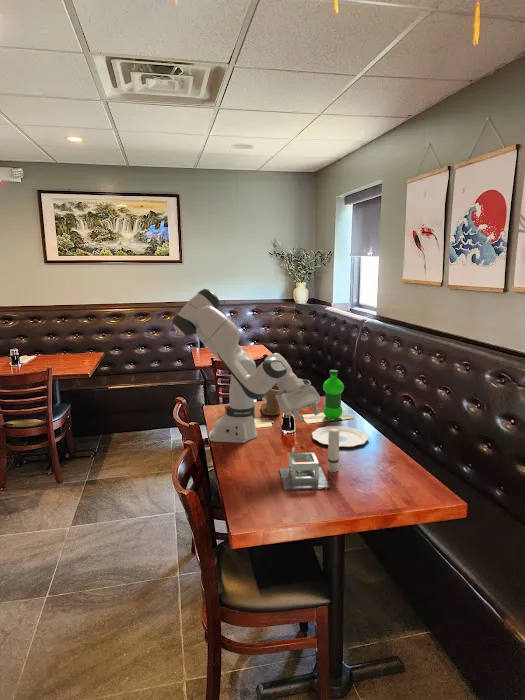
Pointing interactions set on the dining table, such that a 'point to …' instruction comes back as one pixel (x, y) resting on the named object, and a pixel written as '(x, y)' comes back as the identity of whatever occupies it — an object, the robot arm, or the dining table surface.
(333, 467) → the cream tall rounded cylinder
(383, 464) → the dining table surface
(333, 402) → the plastic bottle
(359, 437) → the plate
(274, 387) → the stone cup
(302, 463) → the collar holder
